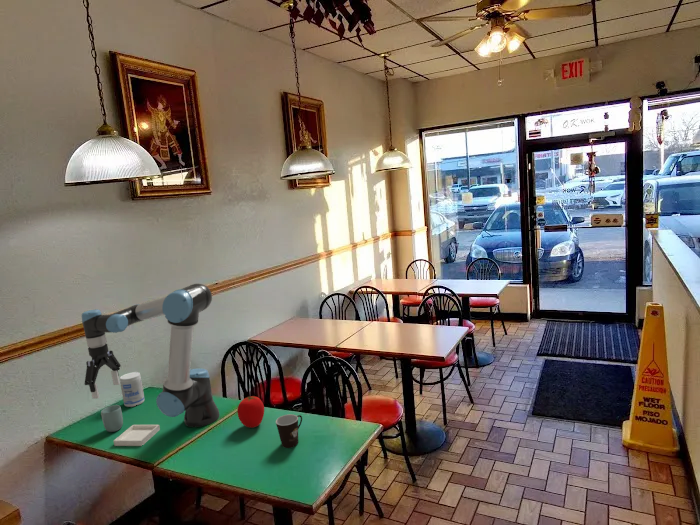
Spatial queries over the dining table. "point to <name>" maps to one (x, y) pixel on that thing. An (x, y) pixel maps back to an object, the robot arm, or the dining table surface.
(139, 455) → the dining table surface
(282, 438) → the coffee mug
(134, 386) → the supplement tub
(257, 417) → the tomato
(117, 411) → the cup
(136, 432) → the dish
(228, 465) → the dining table surface
